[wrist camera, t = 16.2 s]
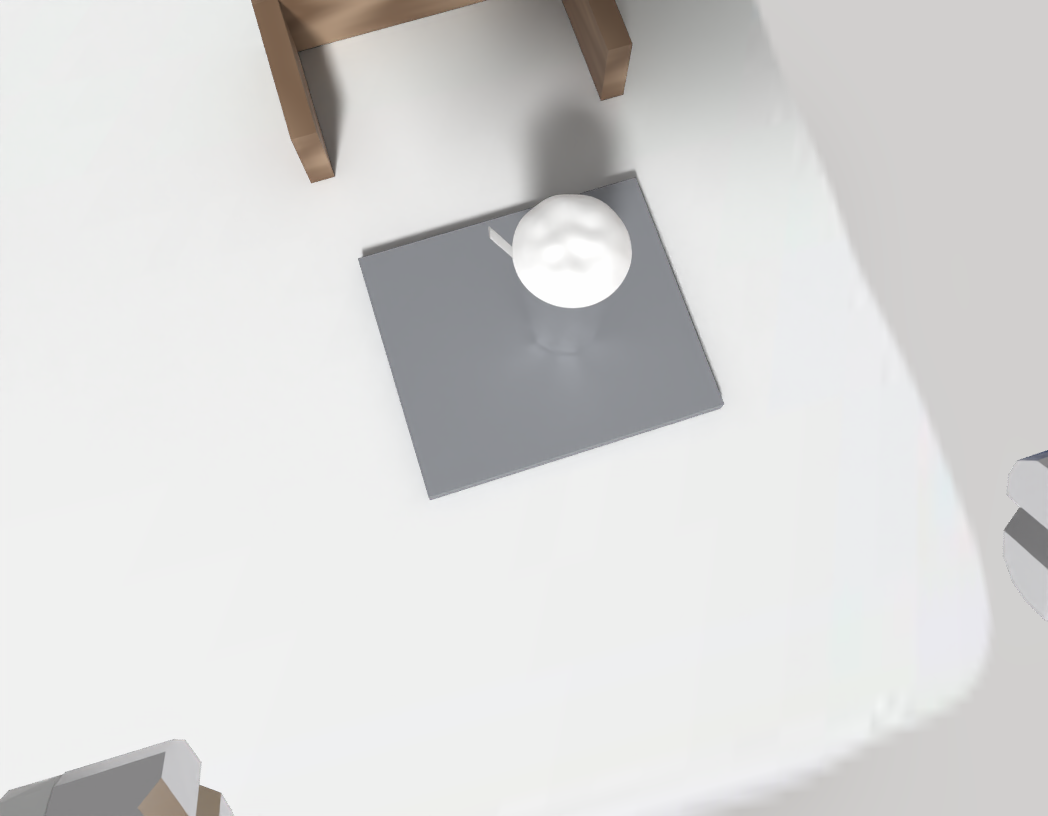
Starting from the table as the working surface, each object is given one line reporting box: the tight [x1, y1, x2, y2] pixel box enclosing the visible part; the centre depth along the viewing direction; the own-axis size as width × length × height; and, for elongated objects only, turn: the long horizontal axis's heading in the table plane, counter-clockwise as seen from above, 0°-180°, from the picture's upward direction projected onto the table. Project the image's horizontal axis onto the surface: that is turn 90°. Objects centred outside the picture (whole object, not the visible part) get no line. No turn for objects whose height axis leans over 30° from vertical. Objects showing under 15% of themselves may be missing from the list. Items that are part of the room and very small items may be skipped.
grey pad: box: [358, 177, 724, 500], centre depth 42 cm, size 14×12×1 cm
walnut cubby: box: [251, 0, 632, 183], centre depth 44 cm, size 16×9×4 cm, turn 108°
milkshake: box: [488, 194, 632, 355], centre depth 37 cm, size 5×5×10 cm
